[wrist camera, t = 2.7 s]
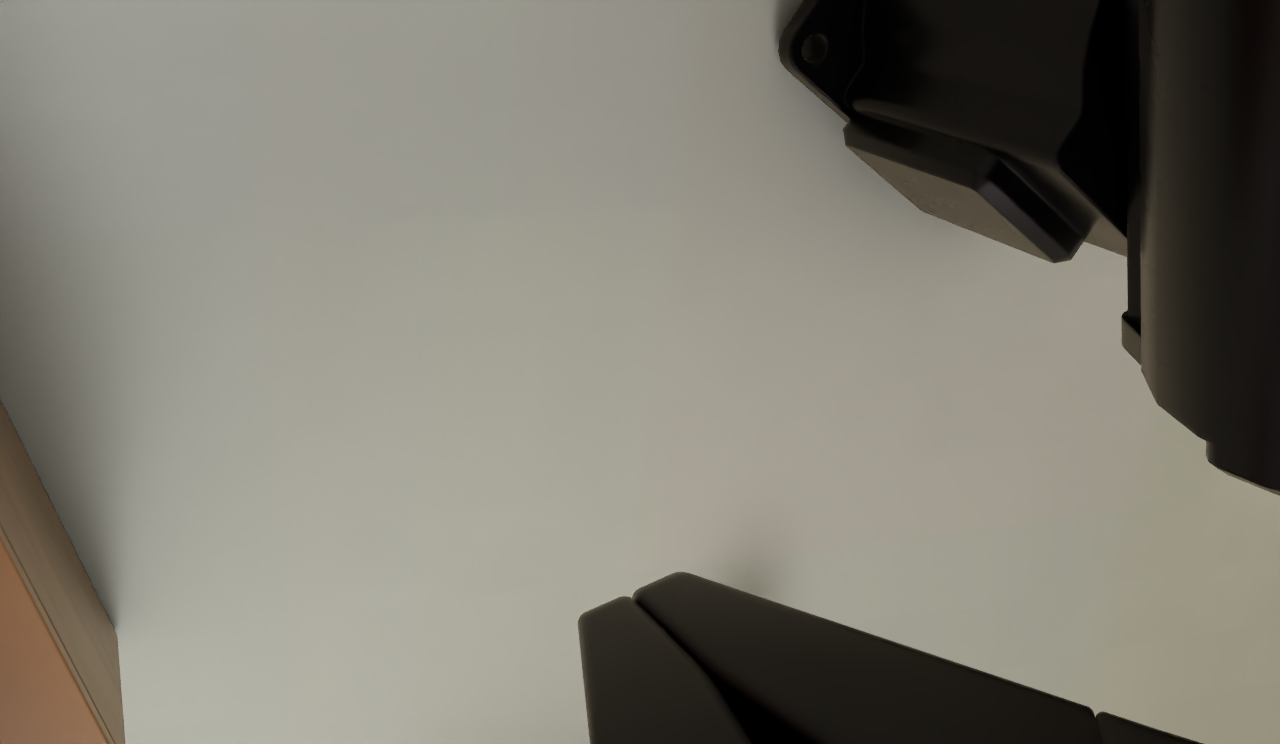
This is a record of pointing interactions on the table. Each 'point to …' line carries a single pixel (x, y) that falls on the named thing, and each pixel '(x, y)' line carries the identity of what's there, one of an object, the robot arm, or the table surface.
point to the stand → (49, 621)
